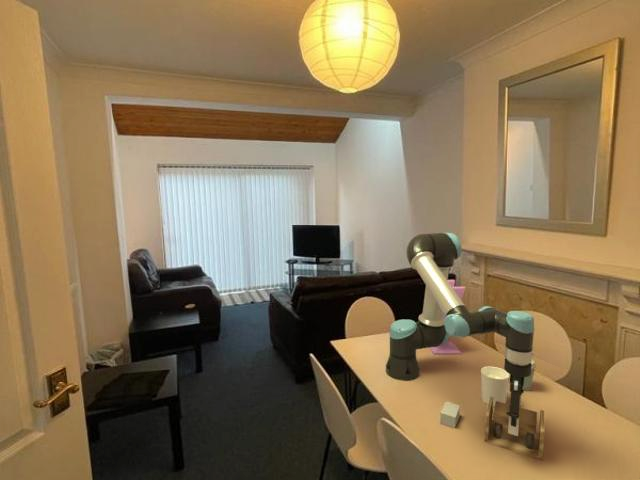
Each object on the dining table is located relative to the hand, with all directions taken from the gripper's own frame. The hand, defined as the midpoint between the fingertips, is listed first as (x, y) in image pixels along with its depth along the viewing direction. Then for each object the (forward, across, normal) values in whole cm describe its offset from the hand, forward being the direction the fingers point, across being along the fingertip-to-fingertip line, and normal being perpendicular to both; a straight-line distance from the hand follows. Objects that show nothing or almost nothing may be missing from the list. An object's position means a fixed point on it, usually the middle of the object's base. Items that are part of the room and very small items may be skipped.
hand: (514, 421), depth 113 cm
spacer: (+6, 0, +20) cm, 21 cm away
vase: (+7, +58, +36) cm, 69 cm away
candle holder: (+7, +20, +8) cm, 22 cm away
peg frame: (+6, 0, 0) cm, 6 cm away
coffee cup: (+7, +37, -1) cm, 38 cm away
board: (0, 0, 0) cm, 0 cm away
